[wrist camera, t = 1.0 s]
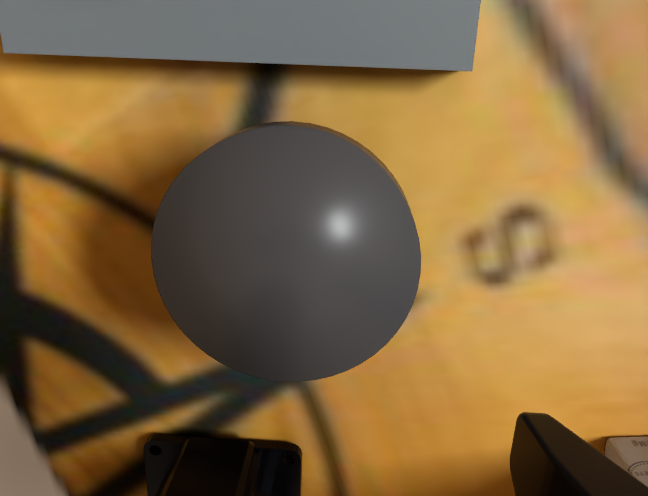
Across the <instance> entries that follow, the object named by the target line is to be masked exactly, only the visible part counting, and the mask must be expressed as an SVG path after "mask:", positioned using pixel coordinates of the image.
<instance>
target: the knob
mask: <svg viewBox="0 0 648 496" xmlns="http://www.w3.org/2000/svg"><path fill="white" fill-rule="evenodd" d="M151 259H152V266H153V273H154V277H155V281H156V284H157V288H158V291H159V293H160V296H161V298H162V300H163V303H164V305H165V307H166V308H167V310H168V312H169V313H170V315H171V317H172V319H173V320H174V321H175V323H176V324H177V325H178V327H179V328H180V329H181V330H182V332H183V333H184V334H185V335H186V336H187V337H188V338H189V339H190V340H191V341H192V342H193V343H194V344H195V345H196V346H197V347H199V348H200V349H201V350H202V351H204V352H205V353H206V354H207V355H209V356H211V357H212V358H214V359H215V360H217V361H218V362H220V363H222V364H224V365H226V366H228V367H230V368H232V369H234V370H236V371H239V372H242V373H245V374H248V375H250V376H254V377H258V378H263V379H267V380H275V381H293V382H300V381H309V380H317V379H321V378H326V377H330V376H333V375H336V374H339V373H342V372H345V371H347V370H349V369H351V368H353V367H355V366H357V365H359V364H361V363H363V362H364V361H366V360H367V359H369V358H370V357H372V356H373V355H374V354H376V353H377V352H378V351H379V350H380V349H381V348H383V347H384V346H385V345H386V344H387V343H388V342H389V341H390V339H391V338H392V337H393V336H394V335H395V334H396V333H397V331H398V330H399V328H400V327H401V325H402V324H403V322H404V321H405V319H406V317H407V315H408V313H409V311H410V309H411V307H412V305H413V302H414V299H415V296H416V293H417V290H418V284H419V278H420V270H421V253H420V243H419V237H418V234H417V230H416V226H415V222H414V219H413V216H412V213H411V210H410V207H409V205H408V202H407V200H406V197H405V195H404V193H403V191H402V189H401V187H400V186H399V184H398V182H397V180H396V179H395V177H394V176H393V175H392V173H391V172H390V171H389V169H388V168H387V167H386V166H385V164H384V163H383V162H382V161H380V160H379V159H378V158H377V157H376V156H375V155H374V154H373V153H372V152H371V151H370V150H368V149H367V148H366V147H364V146H363V145H361V144H360V143H359V142H357V141H355V140H353V139H352V138H350V137H348V136H346V135H344V134H342V133H340V132H337V131H335V130H332V129H330V128H327V127H323V126H319V125H315V124H311V123H302V122H293V121H290V122H271V123H265V124H259V125H255V126H252V127H249V128H246V129H242V130H240V131H238V132H236V133H234V134H232V135H229V136H227V137H226V138H224V139H223V140H221V141H219V142H218V143H216V144H215V145H213V146H212V147H210V148H209V149H207V150H206V151H204V152H203V153H201V154H200V155H198V156H197V157H196V158H195V159H194V160H193V161H192V162H190V163H189V164H188V165H187V166H186V167H185V168H184V169H183V170H182V171H181V173H180V174H179V175H178V176H177V177H176V178H175V180H174V181H173V182H172V184H171V186H170V187H169V189H168V190H167V192H166V194H165V195H164V198H163V200H162V202H161V204H160V207H159V209H158V212H157V215H156V219H155V222H154V226H153V233H152V241H151Z"/></svg>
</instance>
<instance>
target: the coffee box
mask: <svg viewBox="0 0 648 496" xmlns="http://www.w3.org/2000/svg"><path fill="white" fill-rule="evenodd" d="M605 456H606V457H608V458H609V459H610V460H612V461H613V462H614V463H616V464H617V465H619V466H620V467H621V468H623V469H624V470H625V471H627V472H628V473H630V474H631V475H632V476H634V477H635V478H636V479H638V480H639V481H640V482H642V483H643V484H645V485H646V486H647V487H648V436H640V437H614V438H609V439H608V440H607V441H606V447H605Z"/></svg>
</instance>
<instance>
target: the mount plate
mask: <svg viewBox="0 0 648 496" xmlns="http://www.w3.org/2000/svg"><path fill="white" fill-rule="evenodd" d="M480 3H481V0H0V34H1V40H2V47H3V53H17V54H42V55H68V56H93V57H119V58H144V59H170V60H196V61H221V62H247V63H272V64H298V65H323V66H349V67H374V68H400V69H426V70H451V71H472V68H473V60H474V52H475V43H476V35H477V27H478V19H479V11H480Z"/></svg>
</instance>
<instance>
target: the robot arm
mask: <svg viewBox="0 0 648 496" xmlns="http://www.w3.org/2000/svg"><path fill="white" fill-rule="evenodd" d="M154 445H156V446H159V447H160V448H161V449H158V448H156V447H154ZM285 455H292V456H293V458H288V457H286V456H285ZM144 460H145V470H146V480H147V491H148V496H301V478H302V451H301V449H300V448H299V446H297V445H295V444H292V443H282V442H267V441H253V440H238V439H224V438H209V437H195V436H180V435H166V434H153V435H151V436H150V437H149V438H148V440H147V441H146V443H145V445H144ZM510 471H511V476H512V481H513V486H514V490H515V495H516V496H648V487H647V486H646V485H645V484H643V483H642V482H640V481H639V480H638V479H636V478H635V477H634V476H632V475H631V474H630V473H628V472H627V471H625V470H624V469H623V468H621V467H620V466H619V465H617V464H616V463H614V462H613V461H612V460H610V459H609V458H608V457H606V456H605V455H603V454H602V453H601V452H599V451H598V450H597V449H595V448H594V447H592V446H591V445H590V444H588V443H587V442H586V441H584V440H583V439H581V438H580V437H579V436H577V435H576V434H575V433H573V432H572V431H570V430H569V429H568V428H566V427H565V426H564V425H562V424H561V423H560V422H558V421H557V420H555V419H554V418H553V417H551V416H550V415H548V414H545V413H528V412H522V413H521V414H520V415H519V416H518V418H517V421H516V426H515V432H514V437H513V443H512V448H511V454H510Z"/></svg>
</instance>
